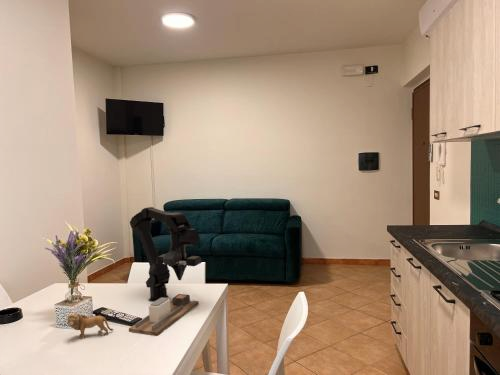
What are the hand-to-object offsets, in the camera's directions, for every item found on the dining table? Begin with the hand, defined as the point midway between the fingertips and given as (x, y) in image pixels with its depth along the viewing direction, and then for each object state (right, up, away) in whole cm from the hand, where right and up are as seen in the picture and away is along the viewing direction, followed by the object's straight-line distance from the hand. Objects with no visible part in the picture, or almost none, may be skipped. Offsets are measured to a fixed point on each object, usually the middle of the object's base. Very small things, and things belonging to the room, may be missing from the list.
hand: (179, 280), depth 156 cm
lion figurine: (-27, -14, -25) cm, 39 cm away
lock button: (+1, -10, 0) cm, 10 cm away
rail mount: (-3, -12, -11) cm, 16 cm away
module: (-5, -11, -14) cm, 19 cm away
